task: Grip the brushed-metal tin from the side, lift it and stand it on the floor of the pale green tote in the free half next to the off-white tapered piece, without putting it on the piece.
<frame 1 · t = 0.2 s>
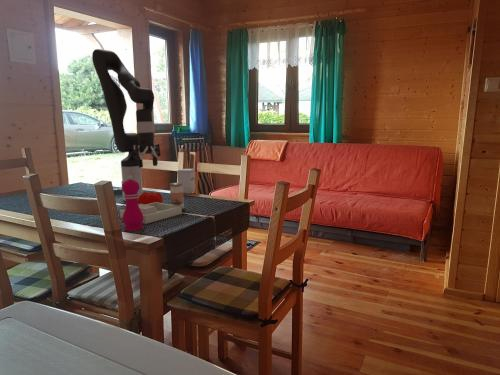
hand: (148, 166, 175), 18 cm above the table, tool pointing down, fingers open, 8 cm apart
supplement box: (187, 192, 204), on the table
pepper mill: (134, 231, 133), on the table
tomato: (150, 207, 170), on the table
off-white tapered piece: (143, 217, 147), point 1 cm above the table, touching tote
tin: (177, 211, 161), on the table
tote: (151, 218, 150), on the table
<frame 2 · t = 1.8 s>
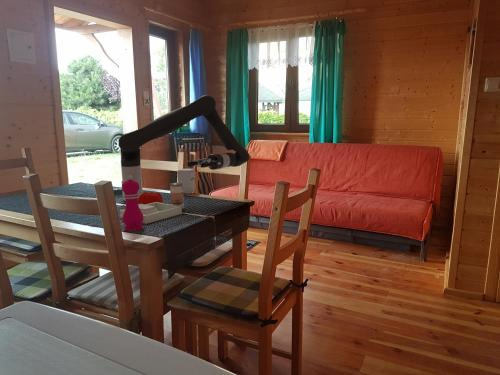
hand: (194, 164, 166), 19 cm above the table, tool horizontal, fingers open, 8 cm apart
nothing on the table moved.
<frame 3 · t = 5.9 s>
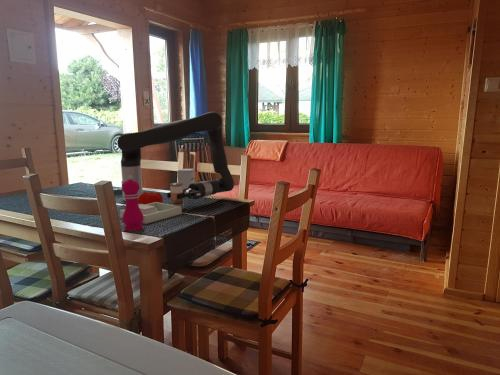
hand: (172, 196, 158), 7 cm above the table, tool horizontal, fingers closed on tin, 5 cm apart
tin: (177, 211, 161), on the table, touching gripper
everything else where it was.
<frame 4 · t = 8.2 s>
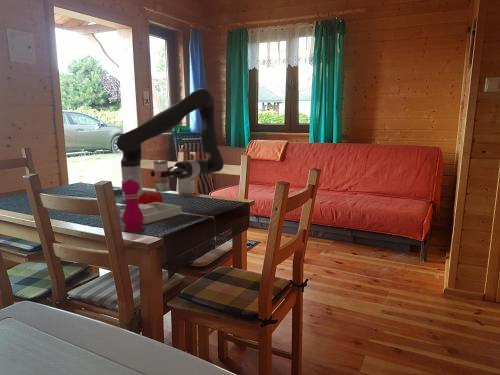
hand: (156, 174, 147), 18 cm above the table, tool horizontal, fingers closed on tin, 5 cm apart
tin: (162, 190, 151), point 11 cm above the table, touching gripper
everything else where it was.
when the fingers open (9 cm above the table, at t = 10.9 s): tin stays where it is, resting on tote.
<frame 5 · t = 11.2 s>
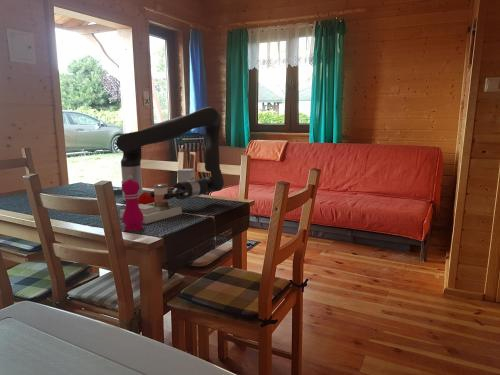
hand: (157, 195, 149), 9 cm above the table, tool horizontal, fingers open, 8 cm apart
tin: (162, 214, 152), point 1 cm above the table, touching tote
everything else where it was.
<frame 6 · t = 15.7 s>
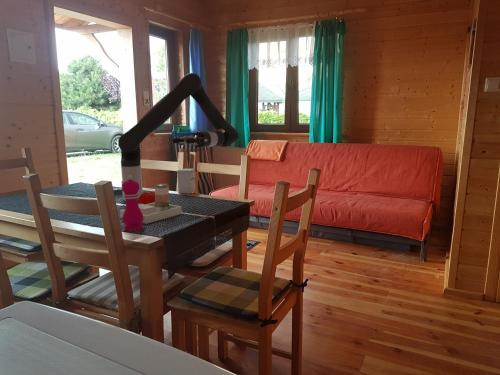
hand: (179, 141, 160), 30 cm above the table, tool horizontal, fingers open, 8 cm apart
nothing on the table moved.
at the end: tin inside the target area on the tote (2.1 cm from its centre), point 1.1 cm above the tote's base; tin tilted 1°; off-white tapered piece moved 0.0 cm from its start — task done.
